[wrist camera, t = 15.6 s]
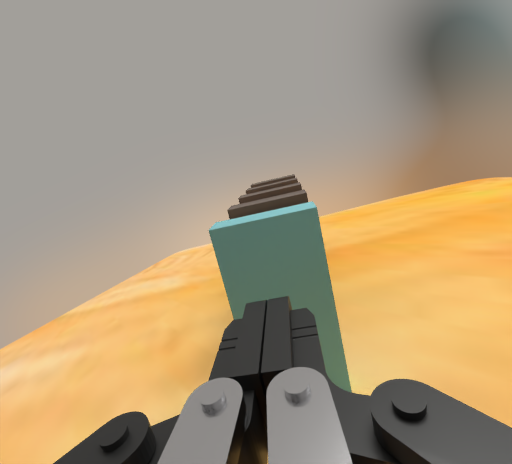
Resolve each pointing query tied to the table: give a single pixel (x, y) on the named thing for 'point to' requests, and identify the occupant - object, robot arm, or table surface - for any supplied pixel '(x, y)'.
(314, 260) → the domino
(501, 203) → the table surface
